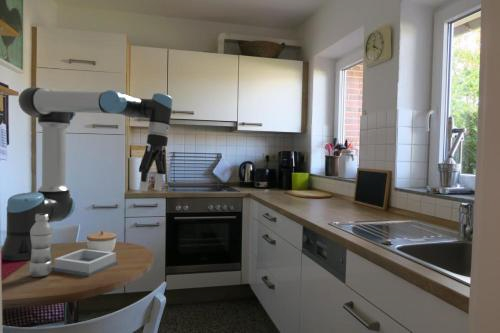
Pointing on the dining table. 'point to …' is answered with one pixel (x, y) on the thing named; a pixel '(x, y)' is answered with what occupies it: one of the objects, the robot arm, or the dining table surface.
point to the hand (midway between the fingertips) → (150, 190)
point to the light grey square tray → (84, 262)
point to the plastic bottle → (40, 246)
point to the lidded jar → (101, 241)
